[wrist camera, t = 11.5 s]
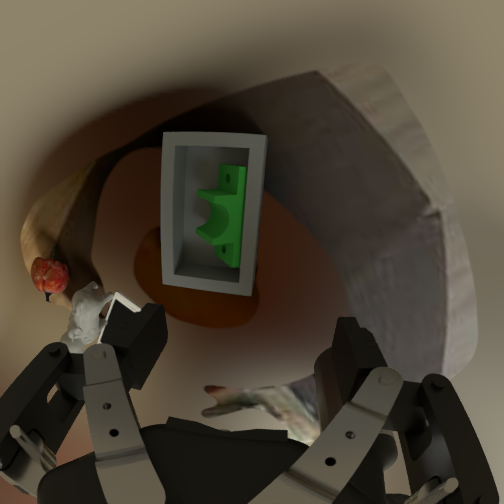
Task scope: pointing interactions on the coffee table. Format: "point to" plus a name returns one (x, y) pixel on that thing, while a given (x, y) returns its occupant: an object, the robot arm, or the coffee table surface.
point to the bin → (207, 208)
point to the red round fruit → (49, 275)
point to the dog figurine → (85, 318)
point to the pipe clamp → (226, 213)
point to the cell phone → (117, 315)
